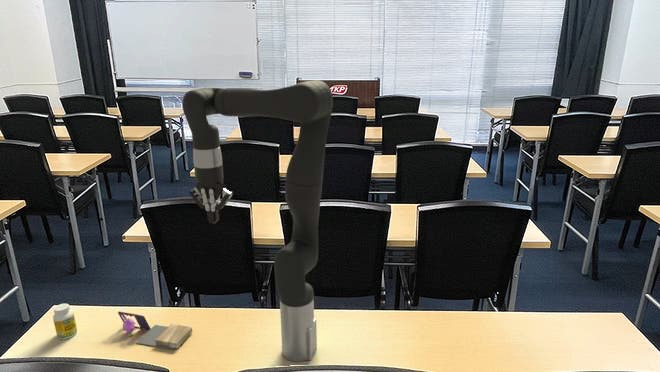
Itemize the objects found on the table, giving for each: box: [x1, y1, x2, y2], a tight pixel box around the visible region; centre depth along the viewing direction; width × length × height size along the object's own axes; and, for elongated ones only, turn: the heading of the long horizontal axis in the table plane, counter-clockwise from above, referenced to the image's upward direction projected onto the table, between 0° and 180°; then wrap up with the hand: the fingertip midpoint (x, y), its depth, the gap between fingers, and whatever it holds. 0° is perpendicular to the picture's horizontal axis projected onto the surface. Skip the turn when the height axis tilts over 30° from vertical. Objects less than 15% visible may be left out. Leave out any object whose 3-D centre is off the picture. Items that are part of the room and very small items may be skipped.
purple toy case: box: [117, 310, 152, 337], centre depth 136 cm, size 7×5×9 cm
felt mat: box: [136, 324, 175, 351], centre depth 134 cm, size 12×9×1 cm
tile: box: [155, 323, 193, 349], centre depth 133 cm, size 2×8×7 cm
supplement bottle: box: [52, 303, 78, 340], centre depth 135 cm, size 5×5×10 cm
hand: (213, 222), depth 128 cm, fingers closed
